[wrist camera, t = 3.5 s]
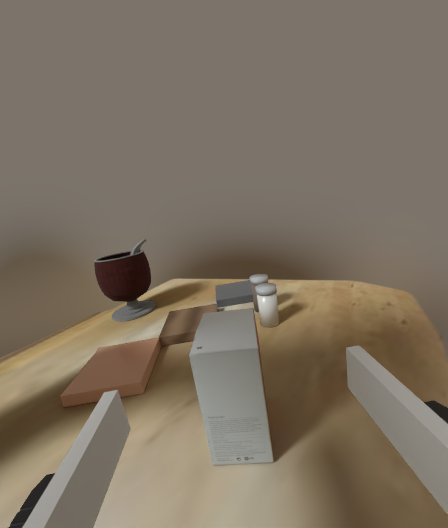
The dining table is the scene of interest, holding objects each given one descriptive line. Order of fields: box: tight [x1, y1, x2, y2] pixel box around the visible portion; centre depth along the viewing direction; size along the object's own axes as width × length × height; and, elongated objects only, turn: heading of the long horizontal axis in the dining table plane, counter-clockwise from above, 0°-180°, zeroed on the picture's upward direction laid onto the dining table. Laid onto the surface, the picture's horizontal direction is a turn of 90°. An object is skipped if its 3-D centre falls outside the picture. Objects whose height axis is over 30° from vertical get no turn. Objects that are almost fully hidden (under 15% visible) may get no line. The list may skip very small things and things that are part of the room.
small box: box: [189, 308, 274, 465], centre depth 24 cm, size 8×6×13 cm
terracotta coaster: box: [59, 338, 161, 407], centre depth 39 cm, size 12×12×2 cm
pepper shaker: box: [250, 274, 268, 312], centre depth 53 cm, size 4×4×8 cm
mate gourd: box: [94, 239, 156, 322], centre depth 64 cm, size 16×14×20 cm
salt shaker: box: [255, 283, 280, 327], centre depth 46 cm, size 4×4×8 cm
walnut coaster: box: [159, 304, 218, 346], centre depth 51 cm, size 12×12×2 cm
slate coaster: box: [216, 280, 253, 307], centre depth 65 cm, size 12×12×2 cm
